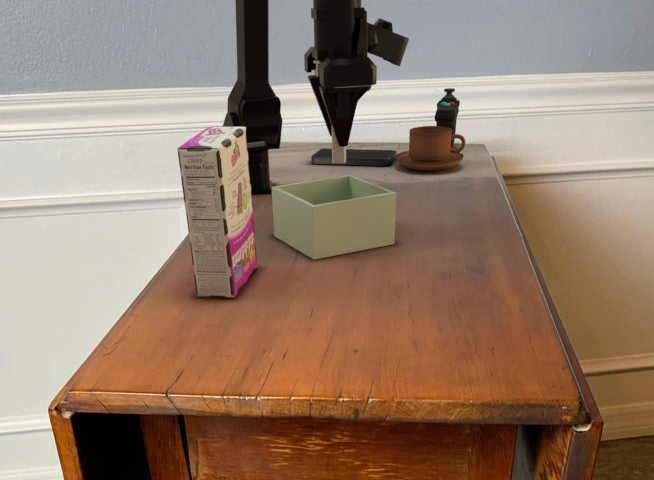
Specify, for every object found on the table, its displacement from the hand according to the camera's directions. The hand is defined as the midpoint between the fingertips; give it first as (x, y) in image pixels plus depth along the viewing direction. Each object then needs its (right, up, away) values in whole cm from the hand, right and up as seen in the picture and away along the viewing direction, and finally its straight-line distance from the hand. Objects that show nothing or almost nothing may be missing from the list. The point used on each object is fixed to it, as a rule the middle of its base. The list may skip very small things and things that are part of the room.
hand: (338, 141), depth 103 cm
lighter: (0, -2, +1) cm, 2 cm away
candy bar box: (-14, -20, -7) cm, 26 cm away
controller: (+23, +22, +51) cm, 60 cm away
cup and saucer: (+18, +13, +39) cm, 45 cm away
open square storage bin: (-1, -11, +6) cm, 12 cm away
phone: (+5, +18, +46) cm, 49 cm away
